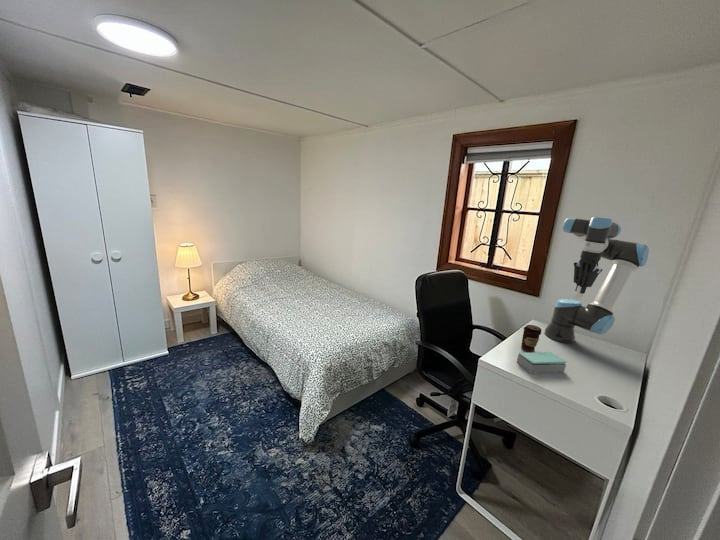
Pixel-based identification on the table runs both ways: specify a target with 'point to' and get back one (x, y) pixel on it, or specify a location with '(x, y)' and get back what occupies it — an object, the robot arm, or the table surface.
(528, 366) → the grey flat bent block
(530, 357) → the cover
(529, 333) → the coffee cup
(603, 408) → the table surface
